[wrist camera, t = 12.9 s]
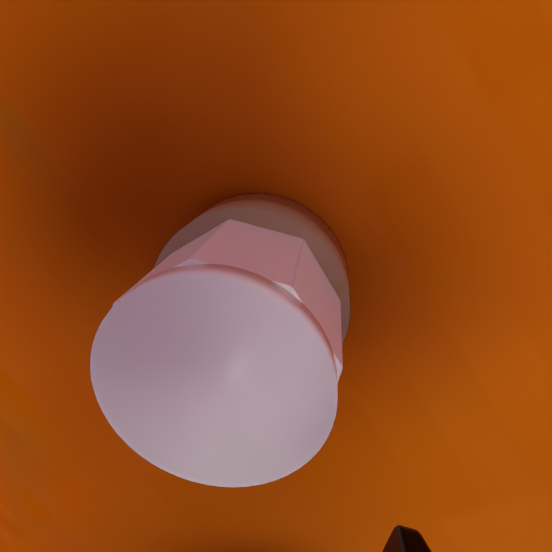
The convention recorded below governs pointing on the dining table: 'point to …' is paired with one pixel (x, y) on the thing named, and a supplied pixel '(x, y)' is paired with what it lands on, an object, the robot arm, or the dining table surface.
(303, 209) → the spice pot
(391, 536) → the robot arm
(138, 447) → the cap
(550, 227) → the dining table surface
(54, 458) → the dining table surface
